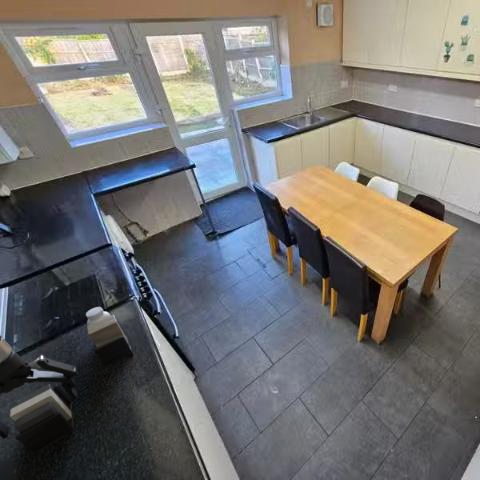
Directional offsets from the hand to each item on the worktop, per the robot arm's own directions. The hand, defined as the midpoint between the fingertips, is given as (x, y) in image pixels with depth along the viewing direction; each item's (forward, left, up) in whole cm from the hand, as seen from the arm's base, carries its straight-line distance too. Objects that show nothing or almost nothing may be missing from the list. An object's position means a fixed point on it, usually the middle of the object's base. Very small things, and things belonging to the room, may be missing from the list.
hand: (42, 413), depth 71 cm
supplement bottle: (-27, +16, -7) cm, 32 cm away
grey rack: (0, 0, -7) cm, 7 cm away
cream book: (0, 0, -6) cm, 6 cm away
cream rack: (-17, +17, -7) cm, 25 cm away
